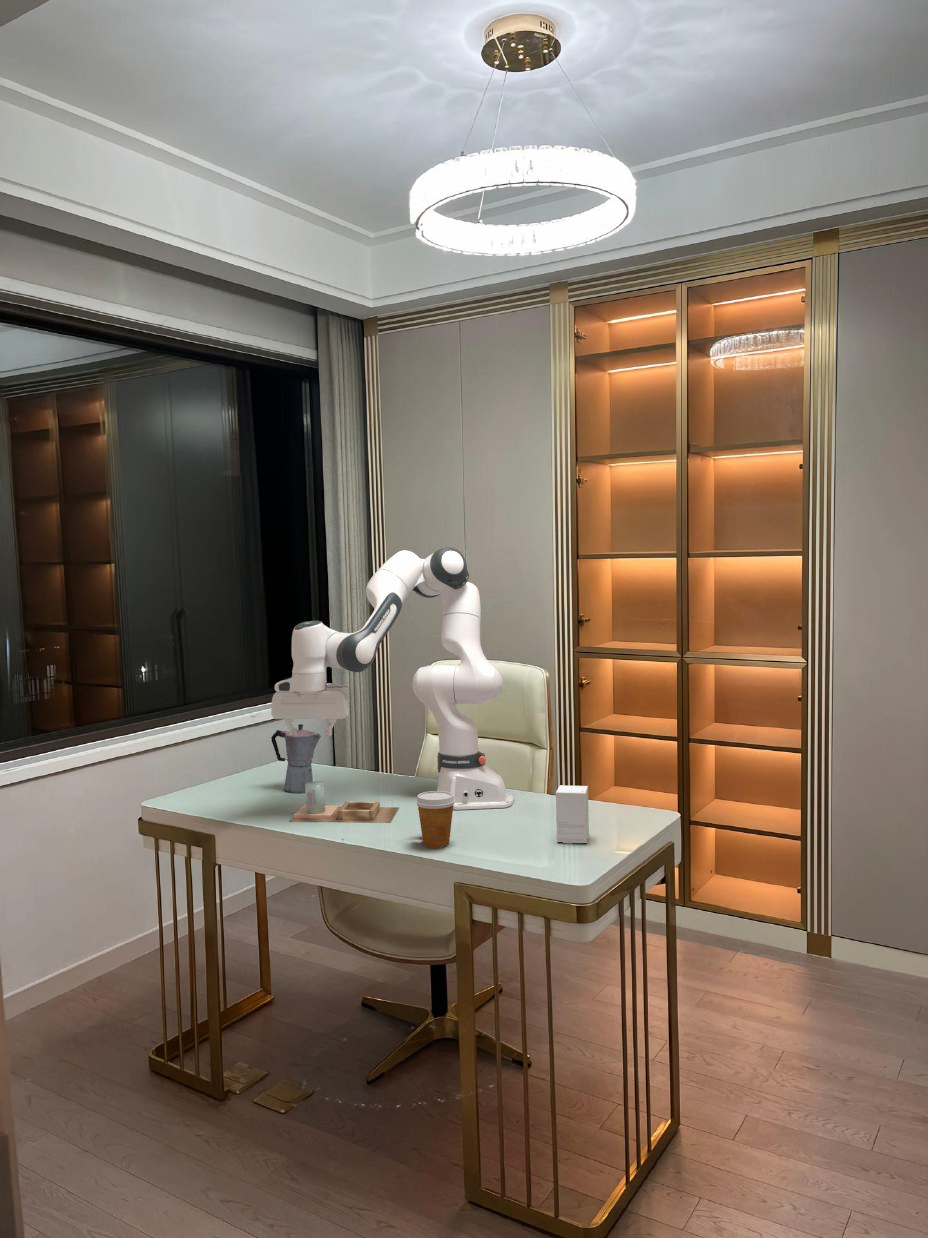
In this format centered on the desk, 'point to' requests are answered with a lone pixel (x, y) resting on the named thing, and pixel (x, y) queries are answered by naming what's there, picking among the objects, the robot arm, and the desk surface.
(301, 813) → the terracotta coaster
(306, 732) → the moka pot
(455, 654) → the robot arm
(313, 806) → the pale blue rounded piece
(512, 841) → the desk surface
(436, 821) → the disposable coffee cup
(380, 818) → the walnut board
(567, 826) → the supplement box
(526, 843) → the desk surface
